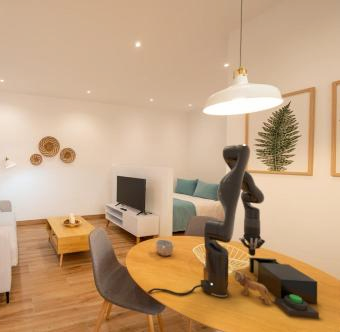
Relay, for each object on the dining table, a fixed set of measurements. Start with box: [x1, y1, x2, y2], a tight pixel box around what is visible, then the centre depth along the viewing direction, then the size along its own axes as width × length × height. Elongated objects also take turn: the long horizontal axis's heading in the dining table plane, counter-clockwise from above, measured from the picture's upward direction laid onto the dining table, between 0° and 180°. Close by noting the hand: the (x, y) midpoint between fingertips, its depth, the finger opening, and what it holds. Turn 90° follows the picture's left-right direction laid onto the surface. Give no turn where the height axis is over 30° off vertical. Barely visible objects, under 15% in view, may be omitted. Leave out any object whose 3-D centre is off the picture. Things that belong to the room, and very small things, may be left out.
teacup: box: [155, 238, 175, 257], centre depth 138 cm, size 14×11×8 cm
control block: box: [274, 295, 320, 319], centre depth 86 cm, size 10×8×4 cm
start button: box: [290, 294, 302, 304], centre depth 86 cm, size 4×4×2 cm
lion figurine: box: [234, 270, 276, 305], centre depth 95 cm, size 15×5×9 cm, turn 39°
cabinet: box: [257, 263, 318, 305], centre depth 98 cm, size 16×14×10 cm
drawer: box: [248, 256, 282, 278], centre depth 109 cm, size 19×12×8 cm, turn 172°
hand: (251, 255), depth 123 cm, fingers closed
